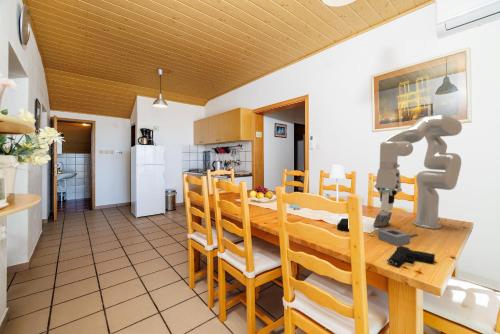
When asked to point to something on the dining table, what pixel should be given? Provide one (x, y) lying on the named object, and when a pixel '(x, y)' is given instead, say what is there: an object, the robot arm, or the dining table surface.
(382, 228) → the grey square frame
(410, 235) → the dark grey bar
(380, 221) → the rock
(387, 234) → the port
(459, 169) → the robot arm
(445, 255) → the dining table surface
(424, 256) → the handgun
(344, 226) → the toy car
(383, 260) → the dining table surface
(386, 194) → the plug
